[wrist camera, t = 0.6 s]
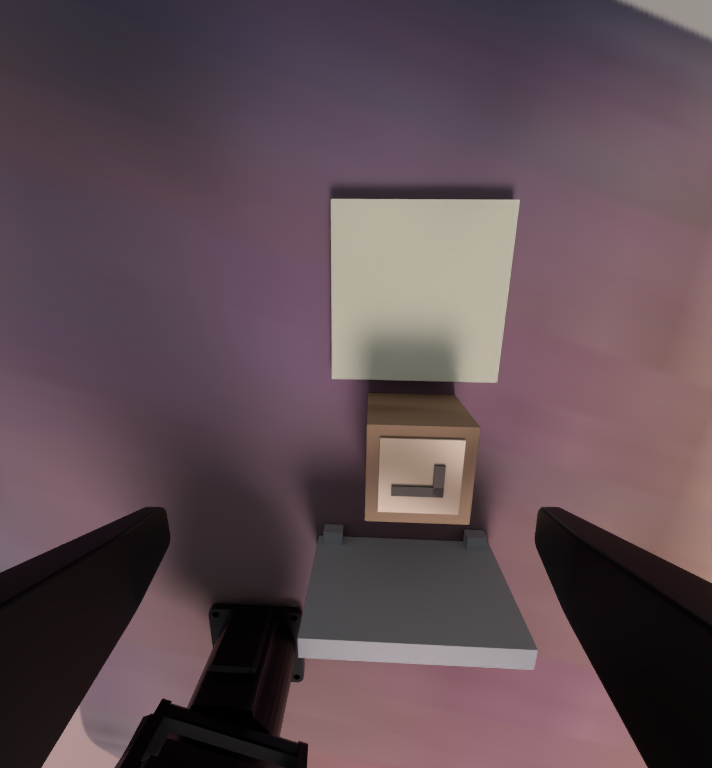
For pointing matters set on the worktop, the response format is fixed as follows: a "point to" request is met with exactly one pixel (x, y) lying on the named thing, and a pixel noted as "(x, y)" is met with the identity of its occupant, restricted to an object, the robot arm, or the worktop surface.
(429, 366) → the coaster
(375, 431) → the letter cube
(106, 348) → the worktop surface
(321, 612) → the screen
